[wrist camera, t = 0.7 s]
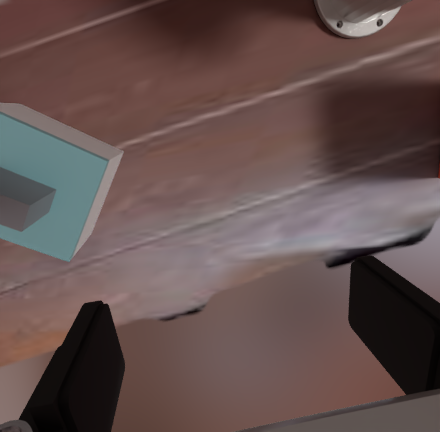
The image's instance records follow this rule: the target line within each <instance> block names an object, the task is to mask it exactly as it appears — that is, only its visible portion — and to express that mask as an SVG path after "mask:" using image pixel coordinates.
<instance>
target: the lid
mask: <svg viewBox="0 0 440 432" xmlns="http://www.w3.org/2000/svg"><path fill="white" fill-rule="evenodd" d="M109 161H110V160H108V159H106V158H104V157H102V156H99V155H97V154H95V153H93V152H90V151H88V150H86V149H84V148H81V147H79V146H77V145H75V144H72V143H70V142H68V141H66V140H63V139H61V138H59V137H57V136H54V135H52V134H50V133H48V132H46V131H43V130H41V129H39V128H37V127H34V126H32V125H30V124H28V123H25V122H23V121H21V120H19V119H16V118H14V117H12V116H10V115H7V114H5V113H3V112H1V111H0V238H1V239H4V240H7V241H10V242H13V243H15V244H18V245H21V246H24V247H27V248H30V249H33V250H36V251H39V252H41V253H44V254H47V255H50V256H53V257H56V258H59V259H62V260H65V261H68V262H70V260H71V259H72V257H73V255H74V252H75V250H76V247H77V244H78V242H79V239H80V236H81V234H82V231H83V229H84V226H85V223H86V221H87V218H88V216H89V213H90V210H91V208H92V205H93V203H94V200H95V197H96V195H97V192H98V189H99V187H100V184H101V182H102V179H103V176H104V174H105V171H106V169H107V166H108V163H109Z"/></svg>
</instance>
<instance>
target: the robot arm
mask: <svg viewBox="0 0 440 432" xmlns="http://www.w3.org/2000/svg"><path fill="white" fill-rule="evenodd" d="M410 1H412V0H314V3H315V6H316V9H317V12H318V14H319V16H320V18H321V20H322V22H323V23H324V24H325V25H326V26H327V28H328V29H330V30H331V31H332V32H334V33H335V34H337V35H339V36H341V37H345V38H350V39H355V38H362V37H366V36H369V35H371V34H373V33H376V32H377V31H379V30H381V29H382V28H384V27H385V26H386V25H387V24H388V23H389V22H390V21H391V20H392V19H393V18H394V17H395V15H396V14H397V13H398V11H399V9H400V8H401V6H402V5H404V4H406V3H408V2H410ZM336 24H337V25H338V27H337V25H336ZM348 320H349V324H350V326H351V328H352V329H353V330H354V332H355V333H356V334H357V335H358V336H359V338H360V339H361V340H362V341H363V343H365V345H366V346H367V347H368V349H369V350H370V351H371V352H372V354H373V355H374V356H375V357H376V358H377V360H378V361H379V362H380V363H381V364H382V366H383V367H384V368H385V369H386V371H387V372H388V373H389V374H390V375H391V377H392V378H393V379H394V380H395V382H396V383H397V384H398V385H399V386H400V388H401V389H402V390H403V391H404V392H405V394H406V395H404V396H400V397H395V398H390V399H385V400H380V401H375V402H371V403H366V404H361V405H356V406H351V407H347V408H342V409H337V410H333V411H328V412H323V413H318V414H314V415H310V416H304V417H300V418H295V419H290V420H286V421H281V422H276V423H272V424H267V425H263V426H258V427H253V428H248V429H244V430H240V431H235V432H440V303H439V302H437V301H436V300H434V299H433V298H432V297H430V296H429V295H427V294H426V293H425V292H423V291H422V290H420V289H419V288H417V287H416V286H415V285H413V284H412V283H410V282H409V281H407V280H406V279H405V278H403V277H402V276H400V275H399V274H398V273H396V272H395V271H393V270H392V269H391V268H389V267H388V266H386V265H385V264H384V263H382V262H381V261H379V260H378V259H376V258H375V257H374V256H364V257H358V258H356V259H355V261H354V262H353V263H352V264H351V274H350V295H349V315H348ZM124 371H125V362H124V358H123V354H122V351H121V347H120V344H119V340H118V336H117V333H116V329H115V326H114V322H113V319H112V315H111V312H110V308H109V305H108V304H103V302H102V301H95V302H89V303H84V304H83V306H82V308H81V310H80V311H79V313H78V315H77V317H76V319H75V321H74V323H73V325H72V327H71V328H70V330H69V332H68V334H67V336H66V338H65V340H64V342H63V344H62V345H61V346H60V347H58V349H57V350H56V351H55V353H54V355H53V357H52V359H51V361H50V363H49V365H48V366H47V368H46V370H45V372H44V374H43V375H42V377H41V379H40V381H39V383H38V385H37V386H36V388H35V390H34V392H33V394H32V396H31V398H30V399H29V401H28V403H27V405H26V407H25V409H24V410H23V412H22V414H21V416H20V418H19V420H13V421H9V422H6V423H4V424H1V425H0V432H111V429H112V425H113V420H114V416H115V411H116V407H117V402H118V398H119V393H120V389H121V384H122V380H123V376H124Z"/></svg>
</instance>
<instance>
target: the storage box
mask: <svg viewBox="0 0 440 432" xmlns="http://www.w3.org/2000/svg"><path fill="white" fill-rule="evenodd" d="M0 111H1V112H3V113H5V114H7V115H10V116H12V117H14V118H16V119H19V120H21V121H23V122H25V123H28V124H30V125H32V126H34V127H37V128H39V129H41V130H43V131H46V132H48V133H50V134H52V135H54V136H57V137H59V138H61V139H63V140H66V141H68V142H70V143H72V144H75V145H77V146H79V147H81V148H84V149H86V150H88V151H90V152H93V153H95V154H97V155H99V156H102V157H104V158H106V159H108V160H110V161H109V163H108V166H107V169H106V171H105V174H104V176H103V179H102V182H101V184H100V187H99V189H98V192H97V195H96V197H95V200H94V203H93V205H92V208H91V210H90V213H89V216H88V218H87V221H86V223H85V226H84V229H83V231H82V234H81V236H80V239H79V242H78V244H77V247H76V250H75V252H74V255H75V254H76V253H77V251H78V250H79V249H80V248H81V246H82V245H83V244H84V243H85V241H86V240H87V239H88V238H89V236H90V235H91V234H92V231H93V229H94V226H95V224H96V221H97V219H98V216H99V214H100V211H101V208H102V206H103V203H104V201H105V198H106V196H107V193H108V191H109V188H110V186H111V183H112V180H113V178H114V175H115V173H116V170H117V168H118V165H119V163H120V160H121V158H122V155H123V153H124V151H122V150H120V149H118V148H116V147H113V146H111V145H109V144H107V143H105V142H102V141H100V140H98V139H96V138H94V137H92V136H89V135H87V134H85V133H83V132H81V131H78V130H76V129H74V128H72V127H70V126H68V125H65V124H63V123H61V122H59V121H57V120H55V119H52V118H50V117H48V116H46V115H44V114H41V113H39V112H37V111H35V110H33V109H31V108H28V107H26V106H24V105H22V104H16V103H0ZM74 255H73V257H74ZM73 257H72V258H73Z"/></svg>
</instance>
